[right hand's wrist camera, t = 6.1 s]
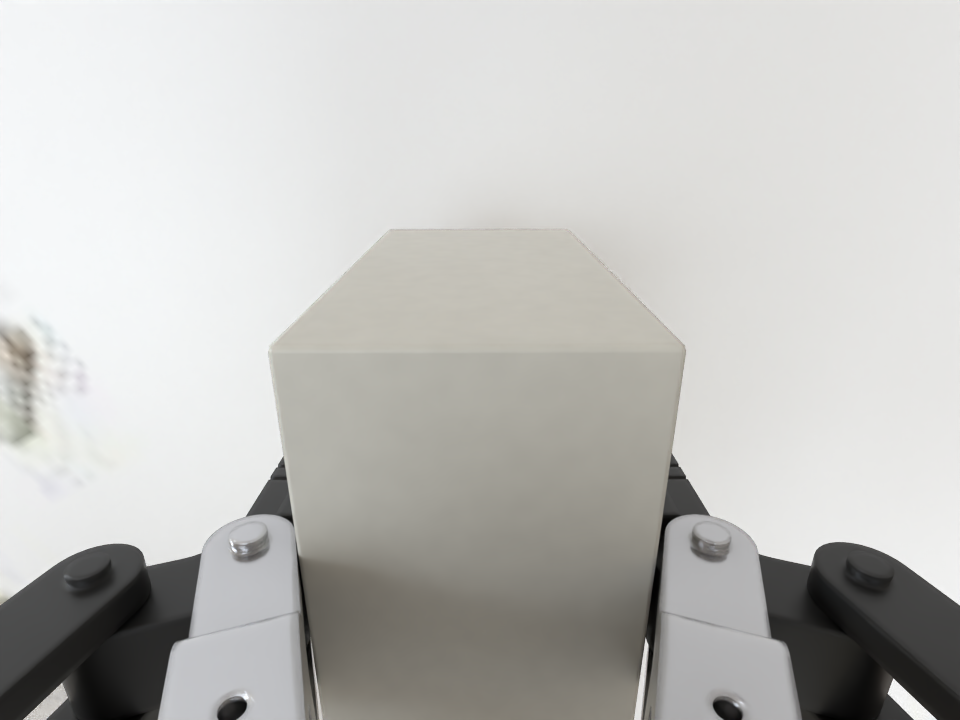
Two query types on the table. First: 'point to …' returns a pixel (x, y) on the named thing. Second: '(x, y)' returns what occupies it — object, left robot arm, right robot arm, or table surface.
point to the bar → (477, 477)
